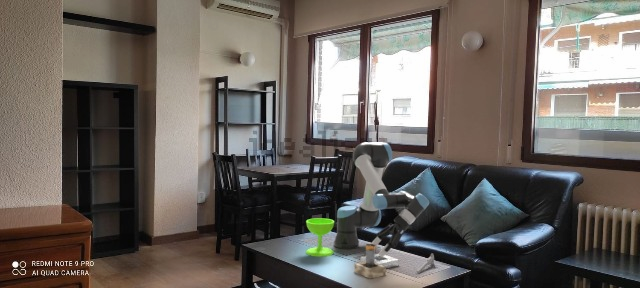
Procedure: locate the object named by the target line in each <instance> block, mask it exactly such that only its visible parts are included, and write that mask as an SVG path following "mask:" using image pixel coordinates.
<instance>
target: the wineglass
mask: <svg viewBox="0 0 640 288" xmlns="http://www.w3.org/2000/svg"><path fill="white" fill-rule="evenodd" d="M305 223H306V227H307V229H308V230H309V232H310V233H311V234H313V235H316V236H317V239H318V240H317V242H318V243H317V247H311V248H308V249H307V250H306V251H305V254H306V255H308V256H310V255H311V256H312V257H320V258H321V257H329V256H330V257H331V256H332V254H333V253H334V250H332V249H331V248H328V247H322V243H323V242H322V240H323V239H322V237H323V236H325V235H327V234H329V233H330V232H331V231H332V230H333V228H334V226H335V220H333V219H330V218H321V217H319V218H317V217H316V218H315V217H314V218H310V219H307V220H306V221H305ZM334 254H335V253H334ZM334 254H333V255H334Z"/></svg>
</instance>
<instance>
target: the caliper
mask: <svg viewBox="0 0 640 288" xmlns="http://www.w3.org/2000/svg"><path fill="white" fill-rule="evenodd" d="M433 265H435V255H434V253H431V254H430V256H429V257H428V258H427V259H426V260H425V262H423V264H422V265H421V266H420V267H418V269H417V270H416V272H415V274H416V275H418V274H420V273H421V272H422V271H423V270H425V268H426V267H427V266H433Z"/></svg>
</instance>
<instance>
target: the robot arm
mask: <svg viewBox="0 0 640 288" xmlns="http://www.w3.org/2000/svg"><path fill="white" fill-rule="evenodd" d="M392 159H393V150H392V147H391V145H390V144H389V143H387V142H381V141H380V142H377V141H376V142H374V141H373V142H365V141H364V142H361V143H359V144H358V145H357V146H356V147H355V148H354V149H353V152H352V160H353V163H354V165H355V167H356V168H358V169H359V171H360V173H361V175H362V176H363V178H364V180H365V188H364V193H363V198H362V202H361V203H360V204H359V208H358V207H357V206H355V205H345V206H341V207H339V208H338V210H337V213H336V223H337V224H336V235H335V238H334V241H333V246H334V247H335V248H339V249H344V250H345V249H346V250H347V249H349V250H350V249H351V250H352V249H357V248H359V247H360V241H359V238H358V234H357V229H358V228H359V229H361V228H374V227H377V226H378V225H379V224H380V223H381V219H382V211H381V210H387V209H402V210H401V211H400V212H399V214H398V215H397V216H396V217H395V218H394V219H393V222H394V223H392V222H390V223H389V224H387V225H386V226H385V227H384V228H383V229H381V230H380V231H378V232H377V233H376V237H375V238H374V239H373V240H372V242H371V243H370V244H374V245H375V248H376V246H378V245H379V244H380V243H381V242H382V241H383V239H385V238H387V237H388V236H390V235H391V236H390V238H389V241H388V242H387V243H386V245H384V247H383V248H382V249H381V250H380V251H379V252H378V253H377V254H379V255H380V256H381V257H382V258H383V257H384V255H386V254H387V253H388V252H389V251H390V250H391V249H393V248H394V249H395V248H397V246H398V244H399V242H400V240H401V238H402V237H403V235H404V234H405V231H407V230H408V228H409V227H410V225H412V223H414V222H415V220H416V219H417V218H419V217H420V215H421V214H422V213H423V212H424V211H425V210H426V209H427V207H428V206H429V205H430V201H429V199H428V198H427V197H426V196H425V195H424V194H422V193H420V192H419V193H417V194H416V195H413V194H412V193H410V192H408V191H405V190H400V191H399V192H396V193H392V192H391V193H390V192H389V191H388V190H387V187H386V186H385V184H384V182H383V180H382V177H383V173H384V172H383V171H384V169H385V168H387V164H389V163H390V162H391V161H392Z"/></svg>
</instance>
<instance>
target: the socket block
mask: <svg viewBox="0 0 640 288" xmlns="http://www.w3.org/2000/svg"><path fill="white" fill-rule="evenodd" d="M399 261H400V259H398V258H395V257H392V256H389V255H386V254H385V255H384V257H383V258H382V257H381V256H380V255H379V254H378V253H375V263H377V264H380V265H382V266H385V267H386V269H389V268H393V267H397V266H399V265H400V263H399ZM361 262H366V255H365V256H360V263H361Z"/></svg>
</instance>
